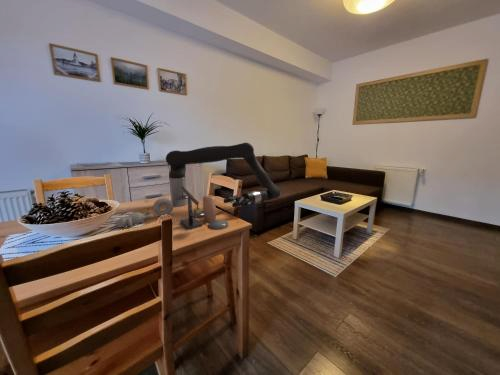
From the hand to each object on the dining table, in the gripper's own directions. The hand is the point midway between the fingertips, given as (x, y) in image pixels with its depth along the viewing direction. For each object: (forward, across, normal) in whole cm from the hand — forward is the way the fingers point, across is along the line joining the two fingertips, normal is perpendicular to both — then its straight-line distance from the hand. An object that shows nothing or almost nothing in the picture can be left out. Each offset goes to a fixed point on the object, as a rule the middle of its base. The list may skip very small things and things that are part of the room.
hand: (228, 203), depth 110 cm
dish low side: (+11, +9, +7) cm, 16 cm away
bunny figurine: (+42, -17, +7) cm, 46 cm away
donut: (+28, -19, +7) cm, 35 cm away
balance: (+21, 0, +7) cm, 22 cm away
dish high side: (+11, -9, +7) cm, 16 cm away
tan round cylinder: (+11, 0, +7) cm, 13 cm away
